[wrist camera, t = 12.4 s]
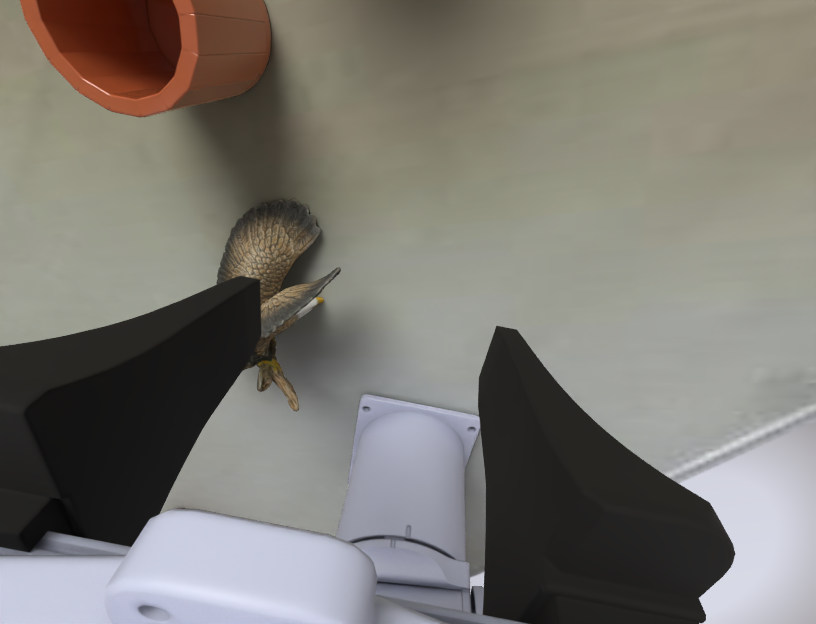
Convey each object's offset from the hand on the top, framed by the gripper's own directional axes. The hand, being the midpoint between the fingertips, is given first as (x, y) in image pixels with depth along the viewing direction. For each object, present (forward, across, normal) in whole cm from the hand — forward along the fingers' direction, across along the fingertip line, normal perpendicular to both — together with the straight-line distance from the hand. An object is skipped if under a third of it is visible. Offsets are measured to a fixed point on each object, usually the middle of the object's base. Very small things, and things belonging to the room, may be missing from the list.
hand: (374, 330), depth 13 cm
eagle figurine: (+10, +6, +5) cm, 13 cm away
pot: (+10, +10, -6) cm, 15 cm away
